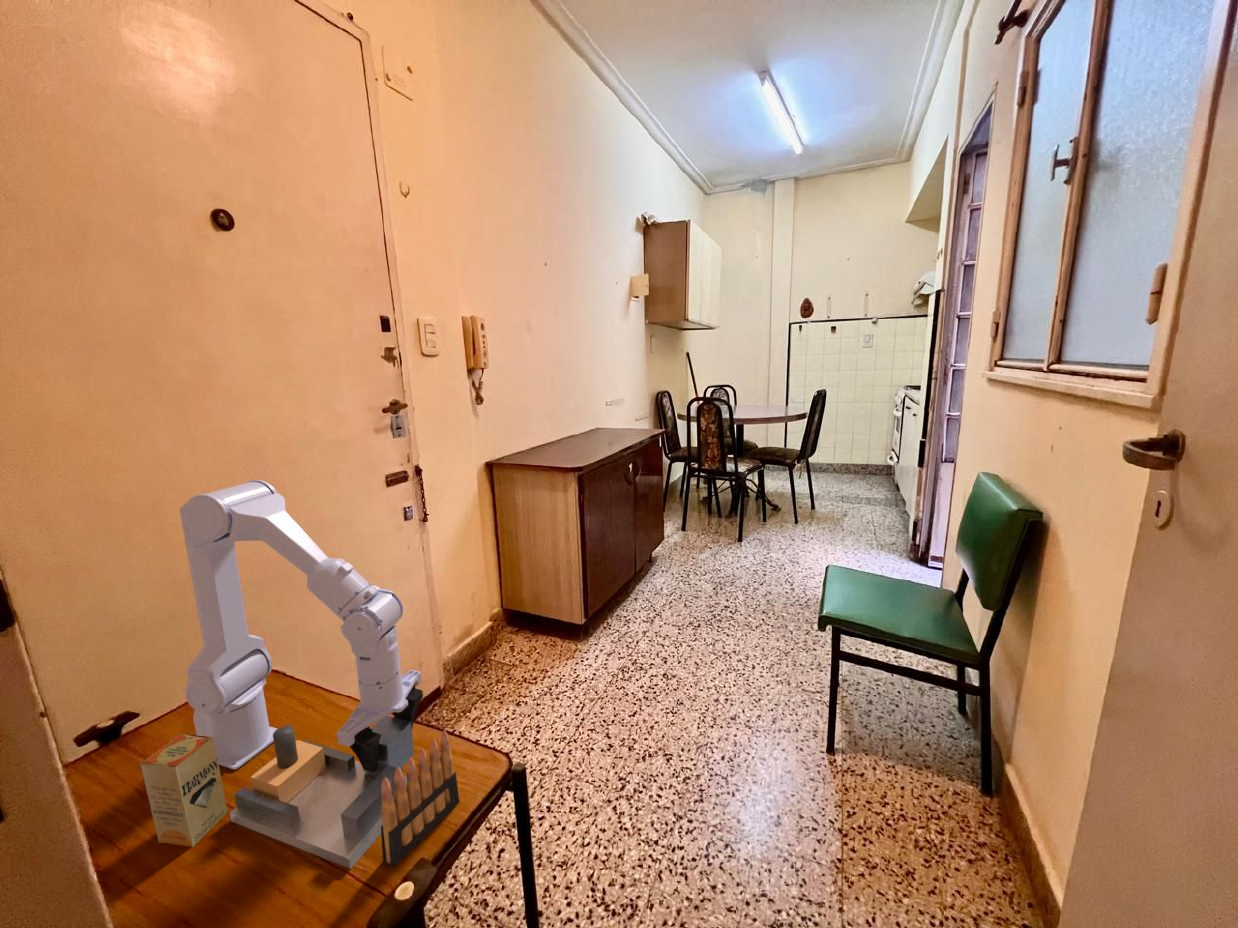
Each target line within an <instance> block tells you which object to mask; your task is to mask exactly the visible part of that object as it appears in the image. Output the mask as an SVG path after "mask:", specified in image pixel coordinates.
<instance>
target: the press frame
mask: <svg viewBox="0 0 1238 928" xmlns="http://www.w3.org/2000/svg"><path fill="white" fill-rule="evenodd" d="M301 741H303V742H306V743H309V744H312V745H316V746H319V747H322V748H323V750H324V757H325V764H326V768H325V769H324V770H323V771H322V772H321V773H320V774H319V775H318V776H317V777H315V778H314V779H313V780H312V781H311V782H310V783H309V784H308V785H307V786H305V787H304V788H303V789H302V790H301V791H300V792H299V793H298V794H296V795H295V796H294V797H293V798H292V799H291V800H290V801H289V802H288V803H286V802H283V801H280V800H277V799H275V798H272V797H269V796H266V795H264V794H261V793H258V792H255V791H253V789H249V788H247V787H242V788H241V789H239V790H238V791H237V792H235V793H234V794H233V796H234V800H235V804H236V807H234V808H233V809H232V810H231V811H229V815H230V816H229V817H230V820H231V823H234V824H236V825H238V826H242V827H244V828H247V829H249V830H251V831H254V832H257V833H259V834H262V835H263V836H264V835H265V836H267V837H269V838H271V839H275V840H277V841H279V842H282V843H284V844H286V845H289V846H292V847H294V848H297V849H299V850H302V851H305V852H307V853H309V854H312V855H315V856H317V857H320V858H322V859H324V860H327V861H329V862H332V863H335V864H337V865H339V866H342V867H344V868H347V869H349V870H350V869H351V870H352V868H353V867H354V866H355V865H356V863H357V862H359V860H360V859H361V857H363V855H364V854H365V853H366V852H367V851H368V849H369V848H371V846H372V844H373V843H374V842H375V841H376V840H377V838H378V837H379V836H381V825H383V823H382V814H381V807H382V796H381V787H382V782H383V779H384V778H385V777H386V778H387V779H388V780H389V782H390V785H391V789H392V795H393V799H394V794H395V792H394V788H395V787H394V776H395V771H396V768H397V767H393V766H390V765H388V766H387V767H386V768H385V769H381V768H378V769H377V770H376V772H375V773H372V772H369V771H366V770H363V767H362V765H361V763H360V761H359V760H355V755H354V754H351V753H348V752H344V751H342V750H338V749H335V748H331V747H328V746H326V745H322V744H319V743H315V742H312V741H309V740H305V739H302V740H301ZM401 771H402V773H403V776H404V781H405V786H406V785H407V775H404V769H403V768H401Z"/></svg>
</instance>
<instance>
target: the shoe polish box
mask: <svg viewBox="0 0 1238 928" xmlns="http://www.w3.org/2000/svg"><path fill="white" fill-rule="evenodd" d="M139 765H140V769H141V773H142V777H143V780H144V785H145V786H144V787H145V789H146V794H147V797H148V802H149V807H150V812H151V815H152V816H151V817H152V820H153V824H154V828H155V831H156V833H155V834H156V836H157V837H156V838H157V840H158V843H159V844H166V845H167V844H168V845H169V844H170V845H174V846H183V847H184V846H185V847H191V848H192V847H194V846H195V845H196V844H198V842H200V841H201V839H202V838H203V837H204V836H205V835H206V834H207V833H209V831H211V829H212V828H213V827H215V825H216V824H217V823H218V822H219V821H220V820H222V818H223V817H224V816H226V815H227V814H228V812H229V811H228V805H227V802H226V796H225V791H224V786H223V781H222V780H223V779H222V776H221V771H220V765H219V764H218V760H217V755H216V750H215V745H214V740H213V737H207V736H197V734H195V735H194V734H186V733H179V734H178V735H176V736H175V737H174V738H172V739H171V740H170V741H168V742H167V743H165V744H164V745H163V746H162V747H160V748H159V749H158V750H156V751H155V752H153V753H152V754H150V755H149V756H148V757H147V758H145V759H144V760H142V762H140V763H139Z"/></svg>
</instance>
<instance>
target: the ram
mask: <svg viewBox="0 0 1238 928" xmlns="http://www.w3.org/2000/svg"><path fill="white" fill-rule="evenodd" d="M273 740H274V742H273V745H274V751H275V757H274V758H273V759H272V760H270V761H268V762H267V763H266V764H265V765H264V766H263V767H261V768H260V769H259V770H257V771H256V772H255V773H254V774H253V775H251V776H250V782H251V783H250V784H251V787H252V789H251V790H253V791H255V792H258V793H261V794H264V795H266V796H269V797H272V798H275V799H277V800H280V801H283V802H286V803H288V802H289V801H290V800H291V799H292V798H293V797H294V796H295V795H296V794H298V793H299V792H300V791H301V790H302V789H303V788H304V787H305V786H307V785H308V784H309V783H310V782H311V781H312V780H313V779H314V778H315V777H317V776H318V775H319V774H320V773H321V772H322V771H323V770H324V769H325V768H326V764H325V757H324V750H323V748H322V747H319V746H316V745H312V744H309V743H306V742H303V741H302V740H300V739H299V740H298V739H297V740H296V736H295V730H294V726H293V725H290V724H288V725H287V724H286V725H283V726H281V727H279V728H277V730H276V731H275V732H274V733H273Z"/></svg>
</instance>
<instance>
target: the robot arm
mask: <svg viewBox="0 0 1238 928" xmlns="http://www.w3.org/2000/svg"><path fill="white" fill-rule="evenodd" d="M286 505H287V503H286V499H285V497H284V496H283V495H281V494H280V493H279V492H277V490H276V489H275V487H274V486H273V485H272V484H270V483H269V482H267V481H266V480H262V479H252V480H249V481H247V482H245V483H241V484H236V485H235V486H234V485H233V486H230V487H226V488H222V489H220V490H219V489H218V490H216V491H215V490H214V491H212V492H207V493H201V494H197V495H195V496H192V497H191V498H190V499H188V500H187V502H185V503H184V504H183V505H182V506H181V507H179V513H180V518H181V524H182V525H181V526H182V529H183V530H182V531H183V536H184V543H185V544H184V545H185V549H186V555H187V559H188V561H187V562H188V565H189V571H190V577H191V583H192V588H193V593H194V594H193V595H194V599H195V605H196V609H197V616H198V622H199V627H200V628H199V629H200V632H201V637H202V644H203V646H202V648H201V650H200V651H199V653H198V654H197V655H196V657H195V658H194V659H193V660H192V662H191V663H190V664H189V666H188V667H187V669H186V673H187V682H186V686H185V699H186V702H187V703H188V704H189V706H190V707H191V708H192V709H193V710H194V711H193V723H194V727H195V733H196V735H197V736H207V737H213V740H214V745H215V750H216V755H217V760H218V765H219V766H222V767H225V768H228V769H231V770H237V769H239V768H240V767H242V766H243V765H244V764H246V763H247V762H249V761H250V760H252V758H254V757H255V756H257V755H258V754H259V753H261V752H262V751H263V750H265V749H266V748H267V747H268V746H270V745H271V744H272V743H274V740H273V733H274V732H275V731H276V730H277V729H278V728H276V727H273V726H270V723H269V716H268V710H267V706H266V699H265V694H264V686H265V685H266V684H267V679H266V677H267V676H268V675H269V674H271V672H272V669H273V659H272V656H271V655H270V654H269V652H268V651H267V648H266V646H265V641H264V640H265V639H264V638H262V637H260V636H257V635H253V634H249V629H248V623H247V615H246V609H245V603H244V602H245V601H244V596H243V590H242V583H241V578H240V577H241V576H240V571H239V565H238V558H237V551H236V547H235V546H236V545H235V544H236V542H248V541H249V542H251V541H252V542H253V541H255V542H256V541H257V542H258V541H261V542H263V543H265V544H266V545H267V546H269V547H270V548H271V549H272V550H274V551H275V552H277V553H278V554H279V555H280V556H282V557H283V558H284V559H286V560H287V561H288V562H289V563H291V564H292V565H293V566H295V567H296V568H297V569H299V570H300V571H301V573H302V572H303V573H304V574H305V575H306V578H307V583H306V584H307V585H306V587H307V588H306V589H308V591H310V592H311V593H312V594H313V595H314V596H315V597H316V598H317V599H318V600H319V601H320V602H322V603H323V604H324V605H325V606H326V607H327V608H328V609H329V610H330V611H331V612H333V613H334V614H335V615H336V616H337V617H338V618H339V619H340V620H341V621H343V624H342V625H341V626H340V630H341V633H342V635H343V636H344V638H345V639H346V640H347V641H348V643H349V645H350V649H351V653H352V654H353V655H354V656H355V657H354V658H355V667H356V674H357V681H358V683H357V684H358V690H359V699H360V702H359V704H357V706H356V708H355V709H354V710H353V712H352V714H351V715H350V716H349V717H348V719H347V721H346V722H345V724H344V725H343V726H342V727H340V728H339V730H337V731H336V736H337V743H338V745H341V746H345V747H348V748H349V749H351V750H352V752H353V753H354V754H355V756H356V757H357V759H358V761H359V762H360V763H361V765H362V767H363V770H366V771H369V772H372V773H375V772H376V770H377V769H378V745H379V740H380V737H381V735H382V734H378V733H375V732H372V729H370V728H371V726H373V725H375V724H376V723H377V722H378V721H379V720H381V719H382V718H384V717H386V716H390V715H391V714H393V717H394V718H398V719H402V720H405V721H409V722H411V727H412V729H413V727H414V722H415V717H416V714H417V711H418V708H419V705H420V703H421V701H422V699H423V698H424V691H423V690H422V689H419V688H416V687H418V686H419V685H421V683H422V682H423V680H422V672H421V671H418V670H413V669H410V670H409V671H408V672H406V673H405V674H402V671H401V660H400V651H399V650H400V649H399V639H398V638H399V637H398V630H397V625H396V624H397V623H398V622H399V621H400V620H401V618H402V616H403V615H404V606H403V603H402V601H401V600H400V597H399V596H397V594H396V593H395V592H394V591H392V590H390V589H387V588H380V587H379V586H378V585H374V584H373V585H372V584H371V583H369V581H367V579H366V578H364V577H363V576H362V575H361V574H360V573H359V572H358V571H356V570H355V569H354V566H353V565H352V564H351V563H350V562H348V561H346V560H344V558H339V557H338V558H337V557H336V558H335V557H328V556H327V554H326V553H325V552H324V551H323V550H322V549H321V548H320V547H319V546H318V545H317V544H316V542H314V540H312V538H311V537H310V536H309V535H308V534H307V533H306V532H305V531H304V529H302V528H301V526H300V525H299V524H298V523H297V522H296V521H295V520H294V519H293V518H292V516H291V515H289V513H288V512H287V509H286Z"/></svg>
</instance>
